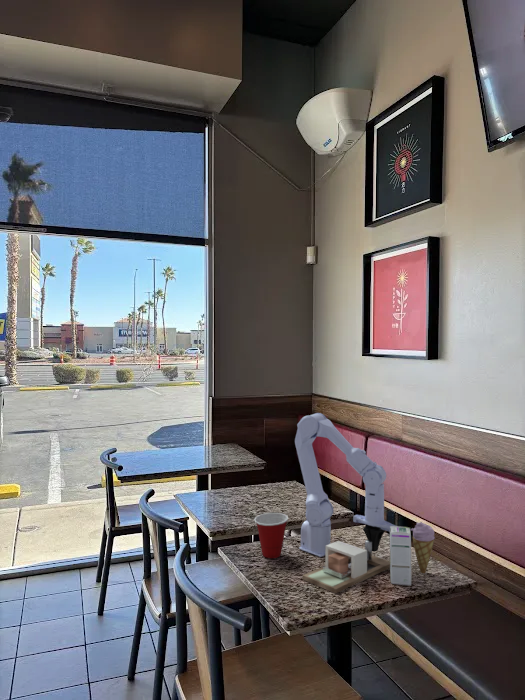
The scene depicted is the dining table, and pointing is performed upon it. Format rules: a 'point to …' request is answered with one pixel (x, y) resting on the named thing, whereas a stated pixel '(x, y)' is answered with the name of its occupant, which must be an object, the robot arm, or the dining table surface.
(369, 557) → the sled
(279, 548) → the plastic cup
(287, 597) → the dining table surface
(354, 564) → the tunnel
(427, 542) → the ice cream cone
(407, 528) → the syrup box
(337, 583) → the frame
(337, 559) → the terracotta block
